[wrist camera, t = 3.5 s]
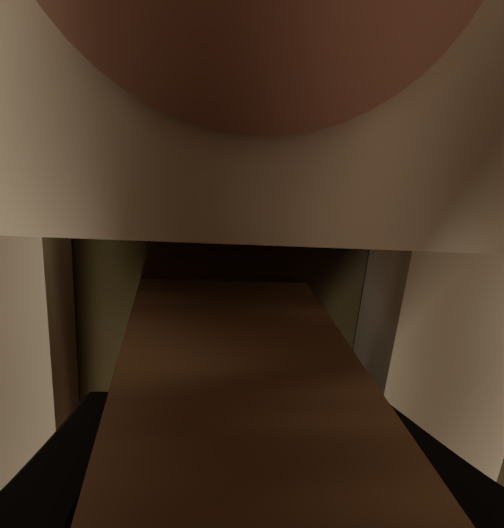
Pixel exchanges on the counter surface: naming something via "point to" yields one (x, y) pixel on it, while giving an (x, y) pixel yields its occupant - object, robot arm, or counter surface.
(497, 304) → the holder board
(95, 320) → the counter surface
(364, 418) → the walnut block
